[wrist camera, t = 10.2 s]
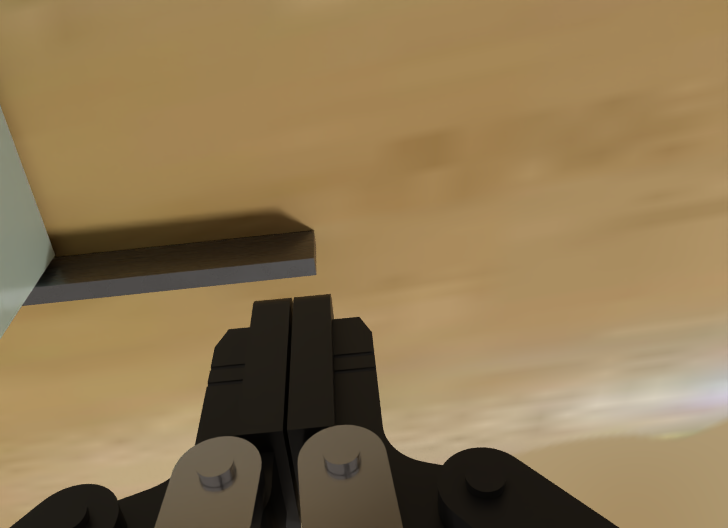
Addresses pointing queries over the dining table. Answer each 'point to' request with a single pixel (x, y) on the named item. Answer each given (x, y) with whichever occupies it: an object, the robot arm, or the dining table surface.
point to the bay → (176, 267)
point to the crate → (18, 233)
